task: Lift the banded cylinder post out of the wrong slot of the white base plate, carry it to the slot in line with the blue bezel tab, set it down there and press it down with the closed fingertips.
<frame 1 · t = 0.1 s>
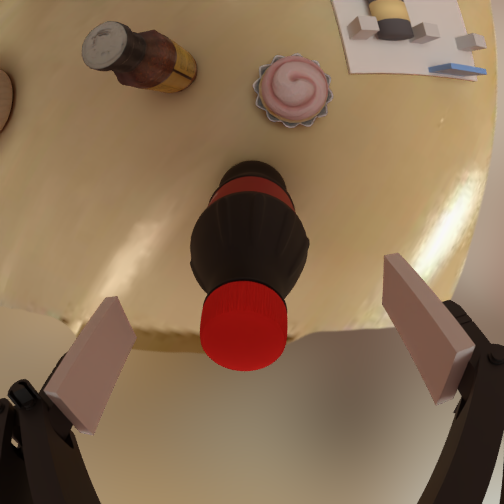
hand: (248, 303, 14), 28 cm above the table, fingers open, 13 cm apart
white base plate: (405, 15, 27), on the table
cola bottle: (252, 188, 40), on the table
banded cylinder post: (378, 4, 26), point 1 cm above the table, touching white base plate
sauce bottle: (175, 73, 33), on the table
cupcake: (289, 93, 34), on the table
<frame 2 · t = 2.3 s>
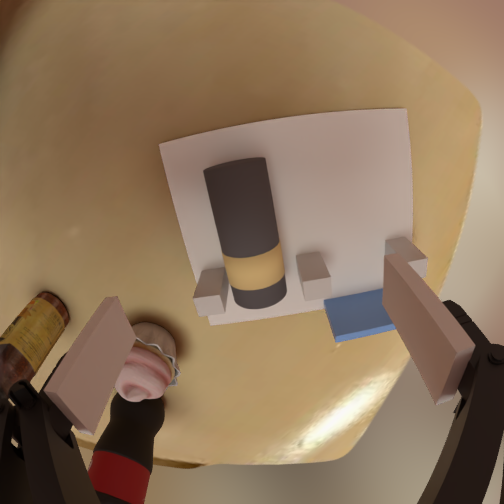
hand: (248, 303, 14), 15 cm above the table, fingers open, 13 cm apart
white base plate: (302, 221, 28), on the table
cola bottle: (142, 396, 41), on the table
banded cylinder post: (252, 223, 27), point 1 cm above the table, tilted 8°, touching white base plate
sauce bottle: (53, 309, 34), on the table
cupcake: (152, 338, 35), on the table
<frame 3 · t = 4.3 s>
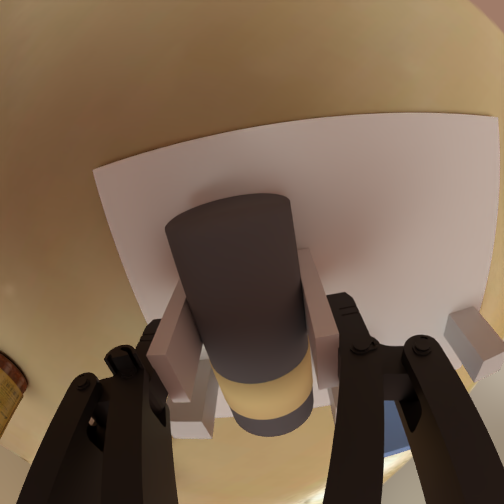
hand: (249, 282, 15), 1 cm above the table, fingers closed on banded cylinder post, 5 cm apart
white base plate: (335, 295, 17), on the table
banded cylinder post: (255, 302, 16), point 1 cm above the table, touching white base plate, gripper
sauce bottle: (10, 369, 23), on the table
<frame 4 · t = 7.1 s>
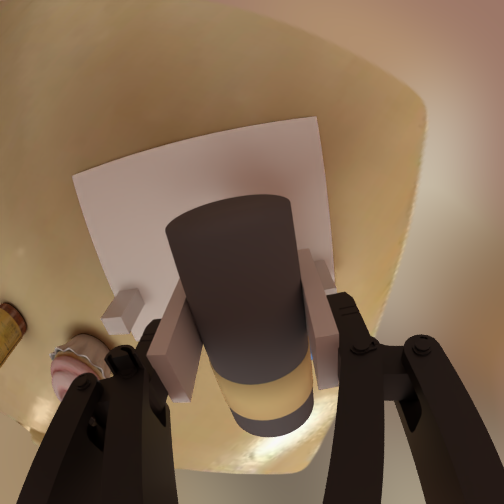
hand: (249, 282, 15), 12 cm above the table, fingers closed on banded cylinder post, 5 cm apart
white base plate: (206, 245, 28), on the table
banded cylinder post: (255, 303, 16), point 12 cm above the table, touching gripper
sauce bottle: (14, 317, 33), on the table
cupcake: (93, 349, 35), on the table
when the fingers open (2 cm above the table, at t = 9.5 s): banded cylinder post stays where it is, resting on white base plate.
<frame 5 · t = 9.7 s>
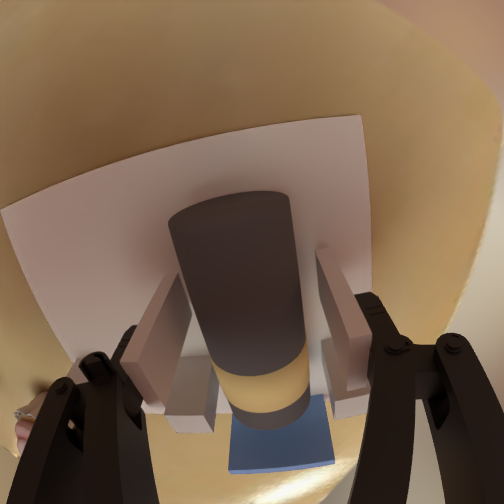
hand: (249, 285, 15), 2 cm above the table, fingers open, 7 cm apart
white base plate: (184, 313, 18), on the table
banded cylinder post: (255, 297, 17), point 1 cm above the table, touching white base plate
cupcake: (63, 406, 25), on the table
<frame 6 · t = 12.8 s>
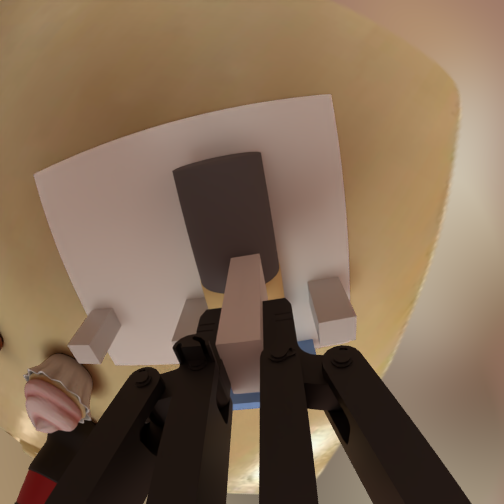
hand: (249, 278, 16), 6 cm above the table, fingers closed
white base plate: (192, 258, 22), on the table
cola bottle: (80, 420, 35), on the table
banded cylinder post: (250, 240, 20), point 1 cm above the table, tilted 19°, touching white base plate, gripper
cupcake: (71, 369, 29), on the table
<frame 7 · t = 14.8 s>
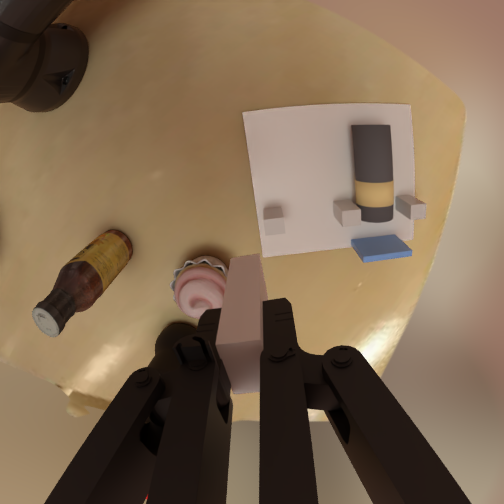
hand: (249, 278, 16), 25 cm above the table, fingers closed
white base plate: (338, 177, 38), on the table
cola bottle: (184, 337, 50), on the table
banded cylinder post: (372, 168, 36), point 1 cm above the table, tilted 16°, touching white base plate
sauce bottle: (116, 247, 43), on the table
cupcake: (208, 272, 44), on the table
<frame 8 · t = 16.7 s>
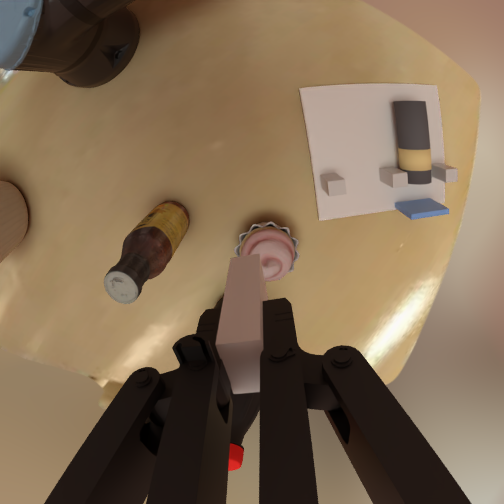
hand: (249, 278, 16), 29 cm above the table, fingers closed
white base plate: (382, 147, 40), on the table
cola bottle: (238, 307, 52), on the table
banded cylinder post: (410, 139, 38), point 1 cm above the table, tilted 15°, touching white base plate
sauce bottle: (171, 219, 46), on the table
canister: (12, 210, 45), on the table
cupcake: (266, 239, 47), on the table
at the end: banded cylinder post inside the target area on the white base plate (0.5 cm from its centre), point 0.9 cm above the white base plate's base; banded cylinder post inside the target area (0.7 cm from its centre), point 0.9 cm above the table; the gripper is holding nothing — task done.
